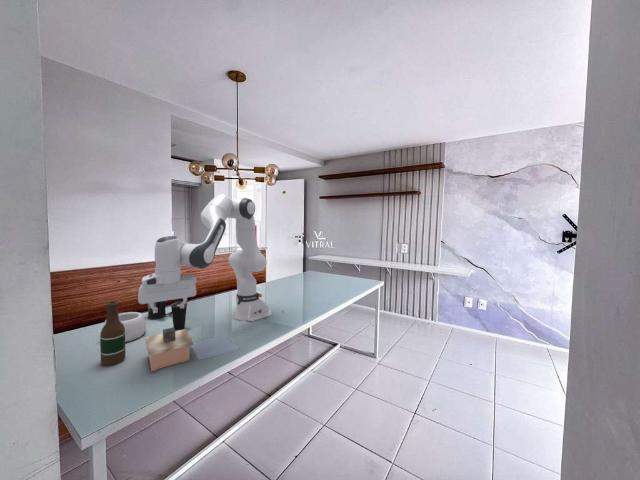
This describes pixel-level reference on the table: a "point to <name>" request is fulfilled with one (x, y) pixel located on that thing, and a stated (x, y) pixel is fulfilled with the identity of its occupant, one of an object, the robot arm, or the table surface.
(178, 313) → the drinking cup
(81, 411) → the table surface
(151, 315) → the milk frother
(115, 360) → the beer bottle
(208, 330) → the table surface
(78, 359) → the table surface
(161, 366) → the open square planter box
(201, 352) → the slate mat
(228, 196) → the robot arm
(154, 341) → the birch lid
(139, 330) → the mug
